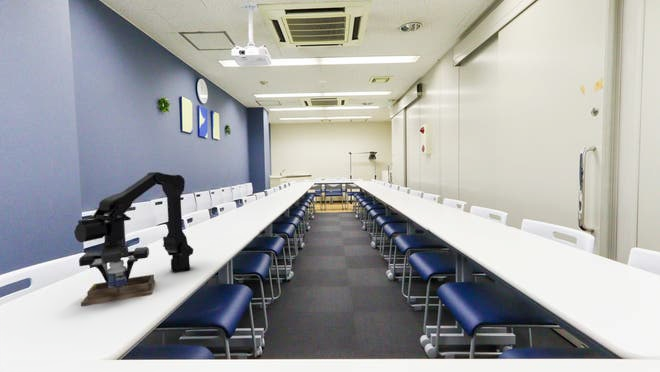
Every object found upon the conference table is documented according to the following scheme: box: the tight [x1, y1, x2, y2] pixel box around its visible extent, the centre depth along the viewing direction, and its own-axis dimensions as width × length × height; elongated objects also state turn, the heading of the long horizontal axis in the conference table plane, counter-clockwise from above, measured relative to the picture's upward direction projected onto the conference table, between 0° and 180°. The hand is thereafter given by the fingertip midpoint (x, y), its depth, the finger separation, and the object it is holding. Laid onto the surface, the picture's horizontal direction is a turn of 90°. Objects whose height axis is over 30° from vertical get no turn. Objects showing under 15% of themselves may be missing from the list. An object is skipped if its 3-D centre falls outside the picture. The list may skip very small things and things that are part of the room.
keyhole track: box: [80, 274, 156, 307], centre depth 104 cm, size 19×12×4 cm, turn 115°
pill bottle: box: [107, 259, 128, 288], centre depth 103 cm, size 5×5×10 cm
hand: (117, 280), depth 103 cm, fingers closed on pill bottle, 5 cm apart
